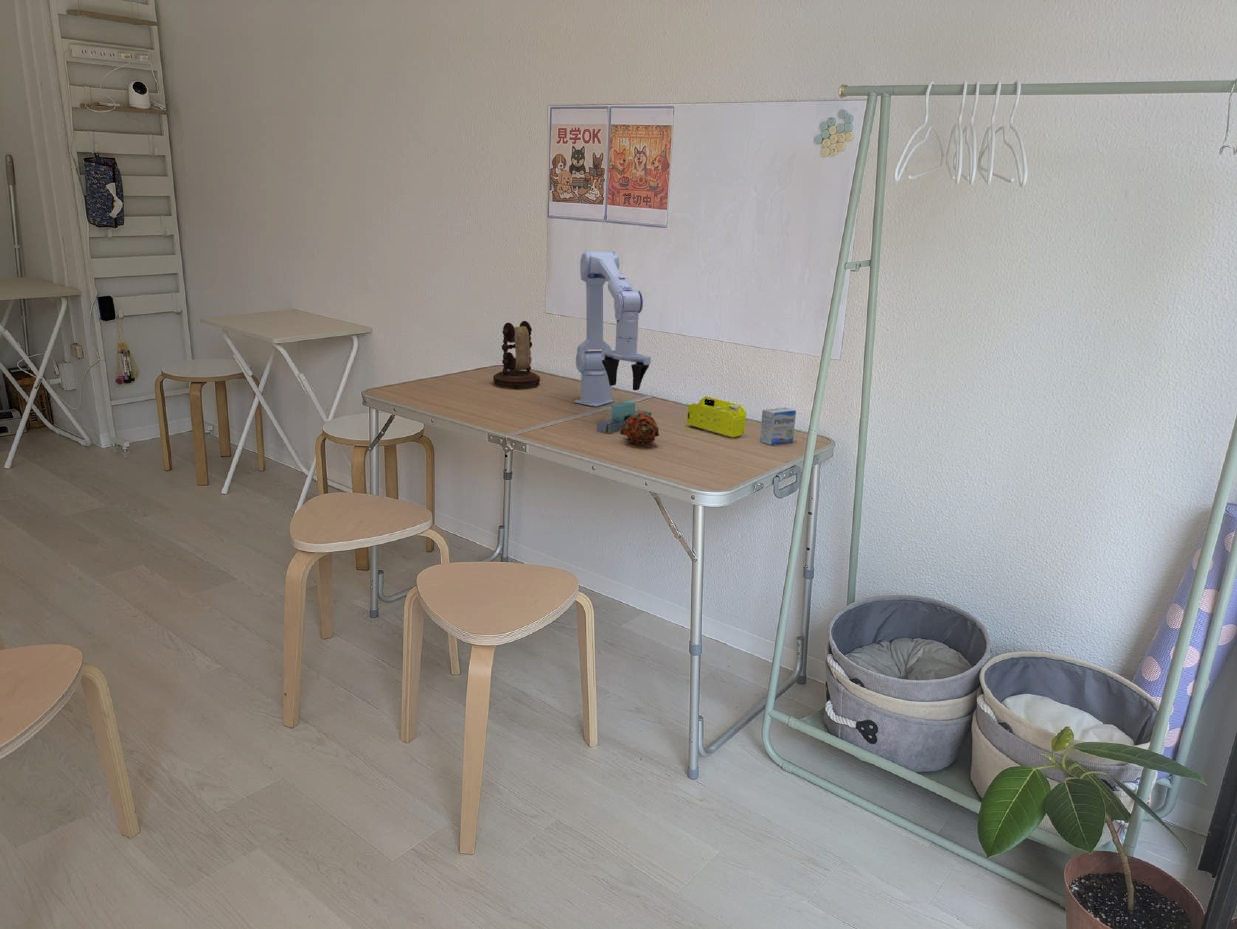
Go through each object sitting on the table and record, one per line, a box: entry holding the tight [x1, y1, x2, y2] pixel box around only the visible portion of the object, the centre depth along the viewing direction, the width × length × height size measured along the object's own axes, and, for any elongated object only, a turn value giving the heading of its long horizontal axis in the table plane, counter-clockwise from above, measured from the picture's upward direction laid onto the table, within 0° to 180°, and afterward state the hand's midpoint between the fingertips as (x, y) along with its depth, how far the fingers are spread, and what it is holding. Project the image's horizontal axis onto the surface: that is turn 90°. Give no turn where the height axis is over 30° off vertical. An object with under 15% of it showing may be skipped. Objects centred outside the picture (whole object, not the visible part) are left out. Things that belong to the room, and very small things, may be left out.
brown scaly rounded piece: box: [619, 413, 660, 446], centre depth 232 cm, size 8×8×12 cm
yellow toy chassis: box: [686, 395, 747, 438], centre depth 246 cm, size 16×6×8 cm, turn 45°
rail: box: [596, 409, 652, 435], centre depth 249 cm, size 20×4×2 cm, turn 146°
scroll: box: [492, 320, 541, 390], centre depth 289 cm, size 15×15×20 cm
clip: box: [611, 400, 637, 421], centre depth 248 cm, size 7×3×6 cm, turn 146°
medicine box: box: [759, 407, 797, 446], centre depth 239 cm, size 8×4×9 cm, turn 122°
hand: (624, 387), depth 246 cm, fingers open, 7 cm apart
